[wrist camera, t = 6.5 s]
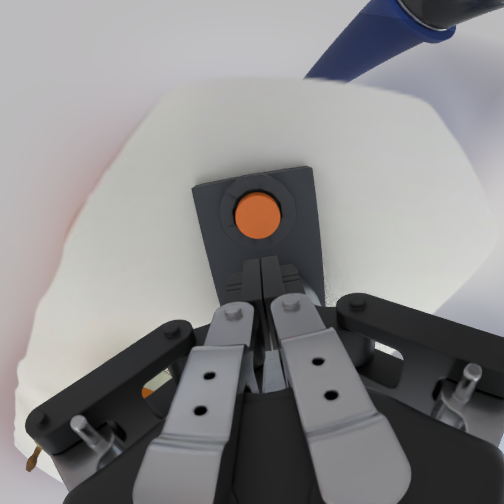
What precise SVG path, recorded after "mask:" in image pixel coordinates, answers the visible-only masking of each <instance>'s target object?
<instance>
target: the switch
mask: <svg viewBox="0 0 504 504" xmlns="http://www.w3.org/2000/svg"><path fill="white" fill-rule="evenodd" d="M235 219H236V224H237V226H238V228H239V230H240V231H241V232H242V233H243V234H244V235H246V236H248V237H250V238H254V239H261V238H265V237H268V236H270V235H271V234H272V233H273V232H274V231H275V230H276V229H277V227H278V225H279V223H280V211H279V209H278V206H277V204H276V202H275V201H274V199H273V198H272V197H270V196H269V195H267V194H265V193H261V192H254V193H250V194H248V195H246V196H245V197H243V198H242V199H241V201H240V202H239V204H238V206H237V210H236V215H235Z"/></svg>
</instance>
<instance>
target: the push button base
mask: <svg viewBox="0 0 504 504" xmlns="http://www.w3.org/2000/svg"><path fill="white" fill-rule="evenodd" d="M254 192H261V193H265V194H267V195H269V196H270V197H272V198H273V199H274V201H275V202H276V204H277V206H278V209H279V211H280V223H279V225H278V227H277V229H276V230H275V231H274V232H273V233H272V234H271V235H270V236H268V237H265V238H261V239H254V238H250V237H248V236H246V235H244V234H243V233H242V232H241V231H240V230H239V228H238V226H237V224H236V219H235V215H236V210H237V206H238V204H239V202H240V201H241V199H242V198H243V197H245V196H246V195H248V194H250V193H254ZM192 193H193V198H194V202H195V206H196V211H197V215H198V220H199V224H200V228H201V232H202V236H203V240H204V245H205V249H206V253H207V257H208V261H209V265H210V269H211V272H212V276H213V280H214V284H215V288H216V292H217V295H218V299H219V303H220V306H223V304H224V298H225V292H226V287H227V280H228V278H229V277H230V276H231V275H232V274H233V273H237V272H243V261H245V260H251V259H257V258H260V263H261V258H263V257H269V256H275V255H277V258H278V262H279V266H281V265H287V264H292V265H293V266H295V267H296V268H297V269H298V272H299V275H300V278H302V279H304V280H305V281H306V282H308V283H309V284H310V285H311V286H312V288H313V289H314V291H315V292H316V294H317V297H318V299H319V302H320V304H321V306H323V307H325V291H324V276H323V262H322V250H321V239H320V229H319V220H318V211H317V202H316V194H315V186H314V178H313V171H312V168H311V167H309V166H303V167H296V168H289V169H282V170H275V171H269V172H263V173H255V174H249V175H243V176H240V177H234V178H229V179H224V180H219V181H214V182H209V183H204V184H199V185H196V186H194V187H193V188H192ZM261 268H262V267H261Z"/></svg>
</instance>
